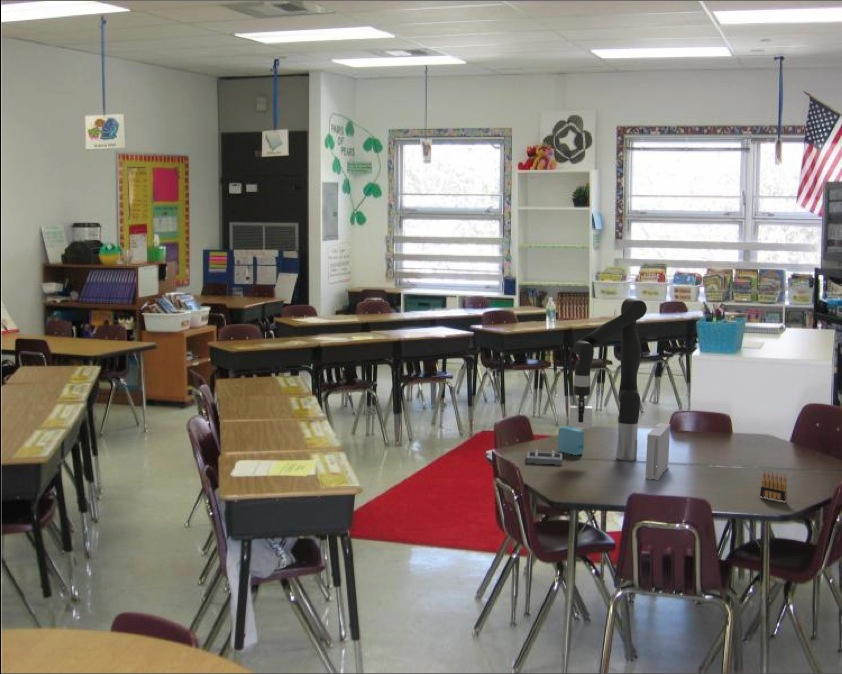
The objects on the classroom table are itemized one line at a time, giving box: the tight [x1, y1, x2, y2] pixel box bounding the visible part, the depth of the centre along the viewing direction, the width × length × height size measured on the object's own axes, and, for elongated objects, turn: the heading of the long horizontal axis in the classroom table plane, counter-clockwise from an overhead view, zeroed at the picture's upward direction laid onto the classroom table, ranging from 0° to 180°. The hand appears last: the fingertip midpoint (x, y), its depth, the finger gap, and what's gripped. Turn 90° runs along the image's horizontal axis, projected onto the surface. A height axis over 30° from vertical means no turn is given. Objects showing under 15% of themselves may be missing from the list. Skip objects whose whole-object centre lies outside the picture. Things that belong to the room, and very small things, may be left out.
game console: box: [644, 422, 671, 481], centre depth 500 cm, size 6×27×20 cm, turn 158°
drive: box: [568, 405, 593, 429], centre depth 515 cm, size 10×4×9 cm, turn 83°
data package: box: [557, 426, 585, 456], centre depth 535 cm, size 12×4×12 cm, turn 43°
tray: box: [526, 449, 563, 466], centre depth 518 cm, size 16×13×4 cm
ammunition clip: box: [759, 469, 788, 501], centre depth 459 cm, size 11×2×12 cm, turn 49°
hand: (580, 421), depth 516 cm, fingers closed on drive, 4 cm apart
